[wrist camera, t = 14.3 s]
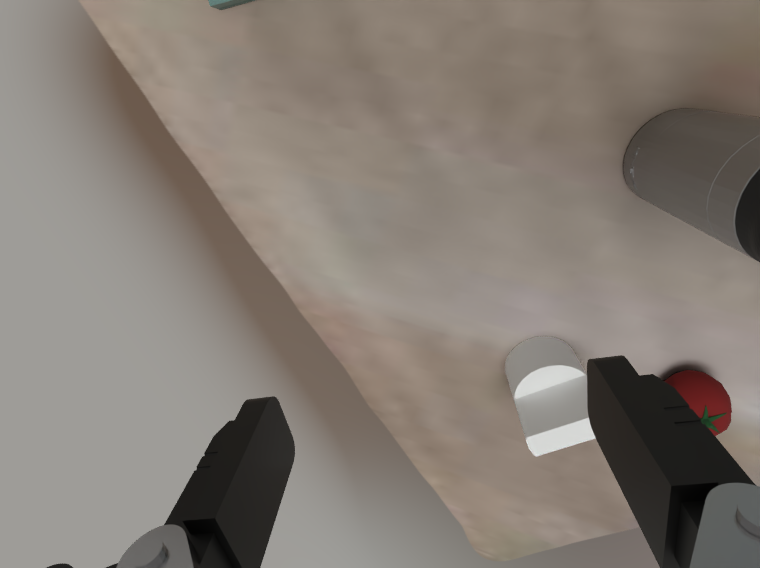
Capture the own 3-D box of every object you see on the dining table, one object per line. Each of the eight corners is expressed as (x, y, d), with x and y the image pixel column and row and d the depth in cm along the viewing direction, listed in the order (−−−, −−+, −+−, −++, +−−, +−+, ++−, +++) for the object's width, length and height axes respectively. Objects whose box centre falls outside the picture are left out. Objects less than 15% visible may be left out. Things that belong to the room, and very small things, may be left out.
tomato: (632, 399, 57) (660, 440, 50) (670, 352, 53) (705, 391, 47) (686, 417, 58) (720, 460, 51) (726, 372, 54) (769, 413, 48)
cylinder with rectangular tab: (519, 401, 58) (543, 475, 48) (493, 352, 55) (513, 418, 45) (585, 378, 56) (626, 450, 45) (563, 325, 53) (600, 389, 42)
